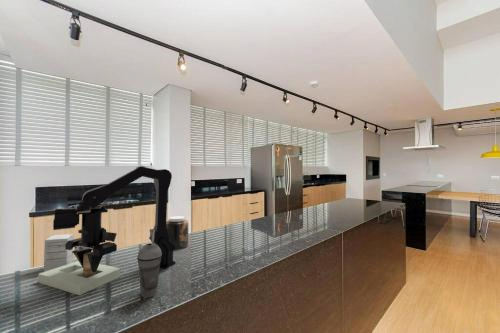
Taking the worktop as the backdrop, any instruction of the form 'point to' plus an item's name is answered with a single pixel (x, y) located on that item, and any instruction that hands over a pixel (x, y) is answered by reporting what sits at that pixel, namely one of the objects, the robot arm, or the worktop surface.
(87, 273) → the peg
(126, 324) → the worktop surface
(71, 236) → the supplement box
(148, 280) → the beverage cup
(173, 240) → the jar
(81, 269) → the board
